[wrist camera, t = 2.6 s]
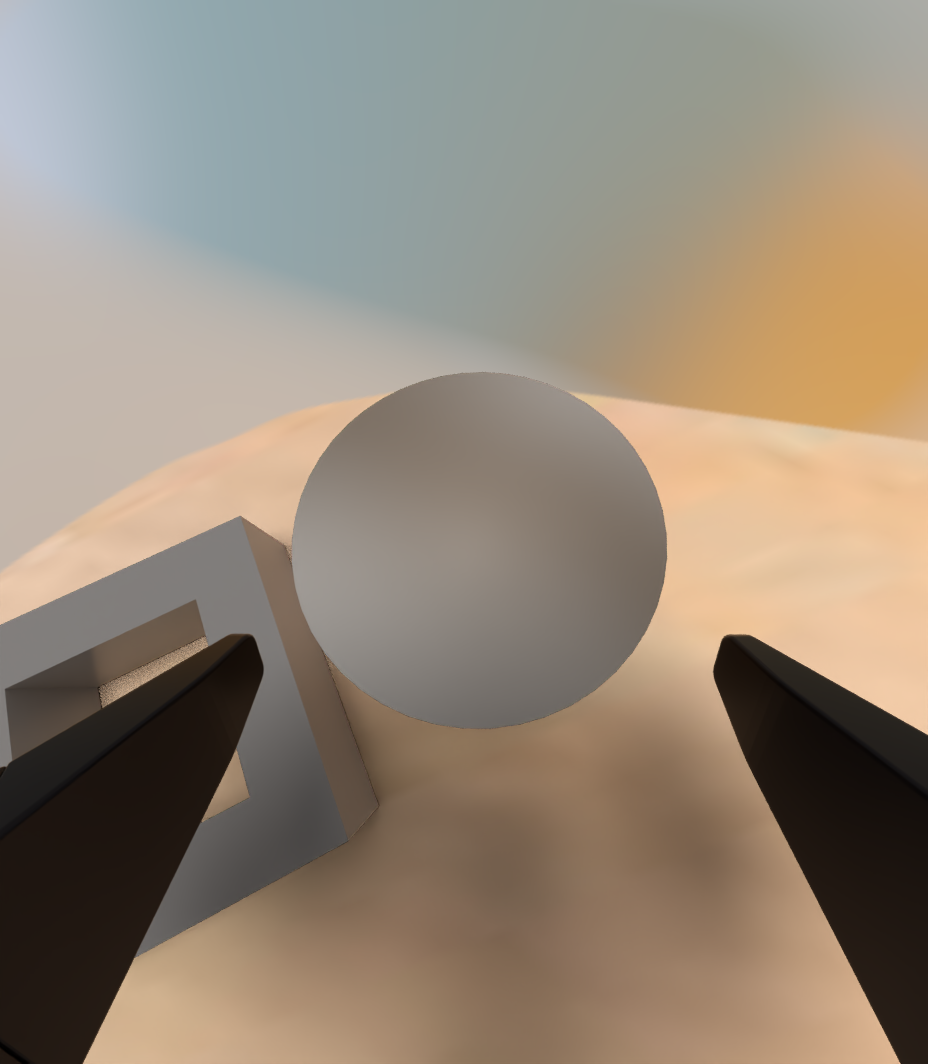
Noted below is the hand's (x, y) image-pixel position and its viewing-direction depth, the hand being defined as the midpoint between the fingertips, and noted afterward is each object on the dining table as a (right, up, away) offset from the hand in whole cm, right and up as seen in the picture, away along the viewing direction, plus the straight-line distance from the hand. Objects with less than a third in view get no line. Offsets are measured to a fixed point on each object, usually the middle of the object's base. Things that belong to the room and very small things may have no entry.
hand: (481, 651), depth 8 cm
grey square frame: (-11, -5, +8) cm, 15 cm away
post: (+1, -2, +9) cm, 9 cm away
